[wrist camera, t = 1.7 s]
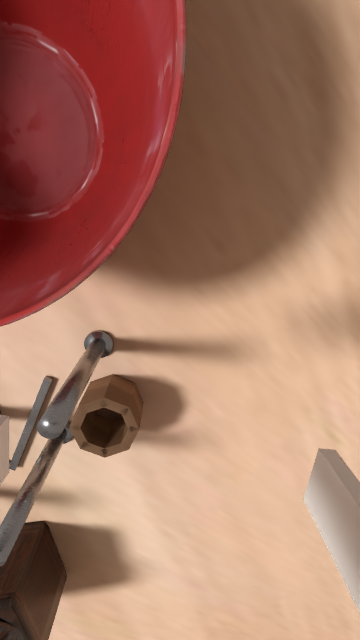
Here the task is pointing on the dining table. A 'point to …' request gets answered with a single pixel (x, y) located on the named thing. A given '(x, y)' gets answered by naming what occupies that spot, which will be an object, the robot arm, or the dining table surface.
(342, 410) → the dining table surface
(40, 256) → the mixing bowl
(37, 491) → the wire course
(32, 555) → the brown coffee grinder
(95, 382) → the napkin ring
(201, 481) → the dining table surface
